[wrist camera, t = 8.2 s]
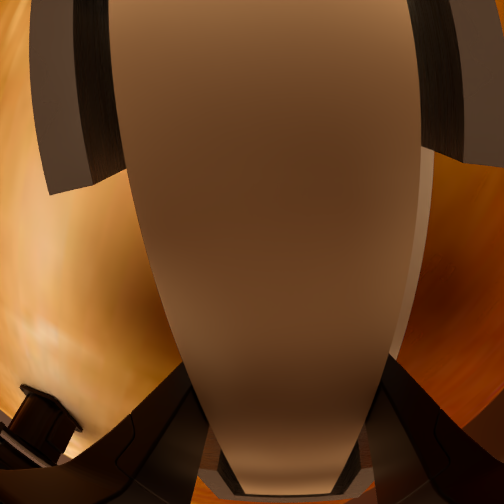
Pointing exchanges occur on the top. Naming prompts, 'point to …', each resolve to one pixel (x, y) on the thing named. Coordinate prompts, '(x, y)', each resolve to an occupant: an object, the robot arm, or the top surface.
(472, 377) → the top surface
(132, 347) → the top surface
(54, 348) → the top surface
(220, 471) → the end caps
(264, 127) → the beige rectangular bar
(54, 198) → the top surface
